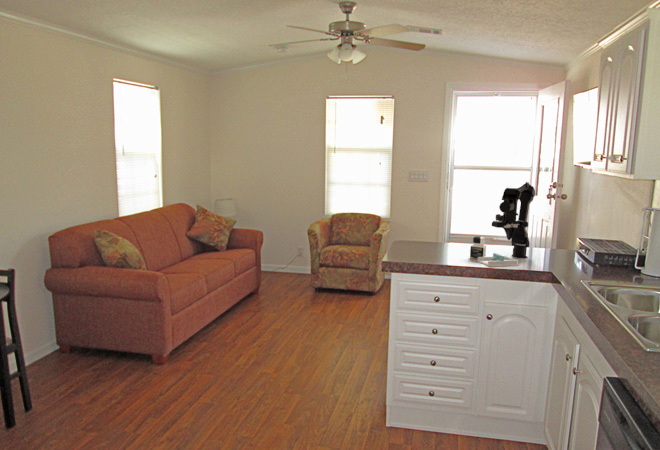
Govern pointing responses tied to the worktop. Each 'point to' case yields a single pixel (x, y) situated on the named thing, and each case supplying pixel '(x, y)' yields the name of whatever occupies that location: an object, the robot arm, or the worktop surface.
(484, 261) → the lane
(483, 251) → the medicine bottle
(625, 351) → the worktop surface
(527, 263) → the worktop surface
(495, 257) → the pusher
